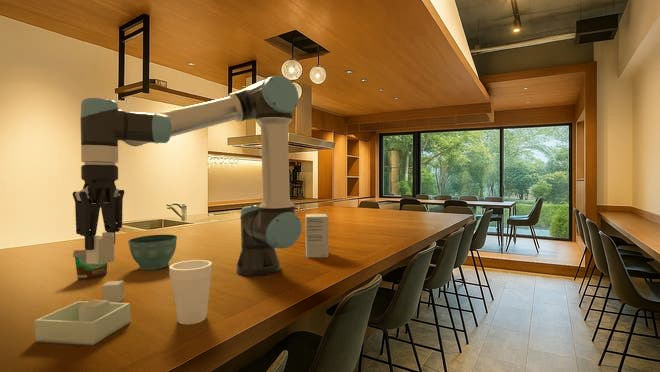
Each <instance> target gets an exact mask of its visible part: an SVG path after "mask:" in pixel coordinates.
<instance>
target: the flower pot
mask: <svg viewBox="0 0 660 372" xmlns="http://www.w3.org/2000/svg"><path fill="white" fill-rule="evenodd" d="M177 240H178V235H176V234H150V235H142V236H138V237H133V238H130V239H129V240H128V241H127V243H128V246H129V251H130V254H131V256H132V258H133V260H134V261H135V263H136V264H137V265H138V266H139V269H140V270H143V271H152V270H153V271H154V270H155V271H156V270H160V269H163V268H166V267H169V263H170V261H171V259H172V258H173V256H174V254H175V252H176V249H177Z"/></svg>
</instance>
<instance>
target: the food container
mask: <svg viewBox="0 0 660 372" xmlns="http://www.w3.org/2000/svg"><path fill="white" fill-rule="evenodd" d="M72 258H74V261H75V269H76V277H77V281H88V280H89V281H90V280H95V279H98V278H102V277H105V276H107V273H108V263H105V264H102V265H95V264H86V250H85V249H81V250H80V249H79V250H78V249H77V250H76V249H74V250H73V253H72Z"/></svg>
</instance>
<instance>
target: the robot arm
mask: <svg viewBox="0 0 660 372" xmlns="http://www.w3.org/2000/svg"><path fill="white" fill-rule="evenodd" d="M299 98H300V97H299V92H298V88H297V87H296V85H295V84H294V83H293V81H292V80H290V79H289V78H287V77H285V76H283V75H273V76H269V77H266V78H265V79H263V80H261V81H258V82H256V83H253V84H252V85H250V86H247V87H246V88H243V89H241V90H239V91H235V92H231V93H229V94H228V96H227V97H224V98H220V99H219V98H218V99H215V100H211V101H207V102H202V103H197V104H193V105H189V106H184V107H180V108H175V109H171V110H167V111H163V112H159V113H153V112H152V113H149V112H141V111H131V110H129V111H127V110H123V109H119V105H118V104H119V103H118V102H117V101H115V100H112V99H108V98H102V97H87V98H84V99H83V100H82V101H81V103H80V118H79V119H80V146H81V147H80V148H81V149H80V151H81V152H80V155H81V159H80V160H81V163H84V164H82V165H81V166H80V173H81V174H80V178H81V180H82V181H84V184H83V187H82V189H81V190H79V191H73V192H72V197H73V200H74V206H75V208H74V210H75V233H76V235H79V236H81V237H84V250H86V263H90V264H98V263H99V236H100V235H97V230H98V223H99V217H100V212H101V216H102V221H103V227H104V230H105V231H104V232H102V233H101V234H102V235H101V236H108V237H114V245H116V233H119V232H120V230H121V228H123V201H124V200H123V199H124V195H125V190H124V189H118V188H117V185H116V183H115V182H116V181H118V180H119V166H118V165H117V164H118V163H119V141H121V142H124V143H125V144H126V145H129V146H131V147H140V146H143V145H146V144H149V143H151V144H153V143H154V144H168V142H169V141H170V139H171V137H175V136H179V135H182V134H186V133H187V134H188V133H190V132H193V131H199V130H201V129H206V128H209V127H213V126H217V125H221V124H224V123H228V122H233V121H235V122H237V123H239V122H244V121H249V120H250V121H251V120H255V122H256V123H258V125H259V126H260V136H261V137H260V139H261V140H260V141H261V144H260V145H261V171H262V172H261V173H262V174H261V175H262V202H260V204H259V205H251V206H244V207H242V208H241V210H240V216H239V217H240V238H241V239H240V241H241V242H240V243H241V249H240V253H239V256H238V259H237V263H236V273H237V274H239V275H243V276H254V277H255V276H264V275H265V276H266V275H271V274H275V273H276V272H279V271H280V269H281V263H280V260H279V257H278V253H277V250H276V249H288V248H290V247H292V246H293V245H294V244H295V243H296V242H297V241H298V239H300V237H301V233H302V231H303V230H302V228H303V226H302V224H303V223H302V221H301V219H300V218H299V216H298V215H297V214H296V210H295V207H296V206H295V203H294V202H292V201H291V197H290V196H291V195H290V191H291V189H290V162H289V161H290V157H289V156H290V155H289V154H290V153H289V125H290V124H291V123H292V122H293V111H294V110H295V109H296V107H297V106H298V105H299Z"/></svg>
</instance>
